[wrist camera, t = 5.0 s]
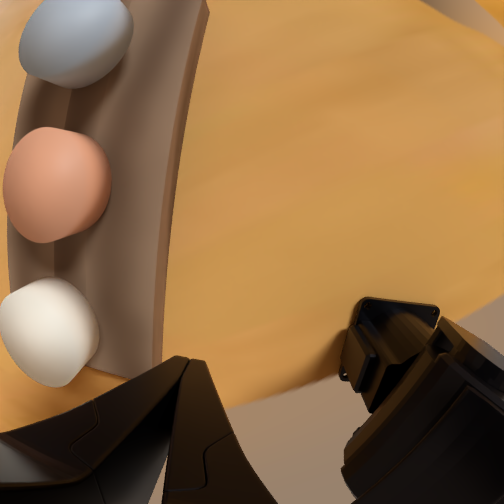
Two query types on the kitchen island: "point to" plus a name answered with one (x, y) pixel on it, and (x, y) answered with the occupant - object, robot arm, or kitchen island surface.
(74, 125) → the button board
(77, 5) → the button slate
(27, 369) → the cream white rounded ball
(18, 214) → the peach rounded lump
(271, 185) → the kitchen island surface
